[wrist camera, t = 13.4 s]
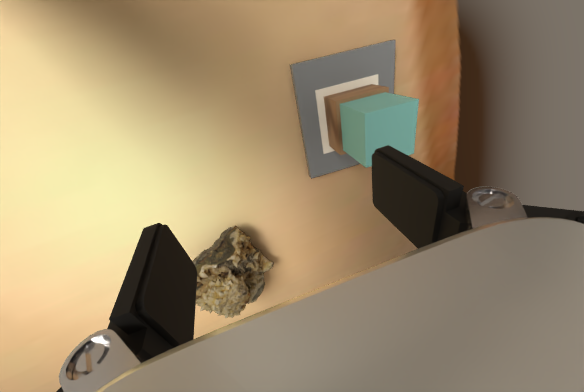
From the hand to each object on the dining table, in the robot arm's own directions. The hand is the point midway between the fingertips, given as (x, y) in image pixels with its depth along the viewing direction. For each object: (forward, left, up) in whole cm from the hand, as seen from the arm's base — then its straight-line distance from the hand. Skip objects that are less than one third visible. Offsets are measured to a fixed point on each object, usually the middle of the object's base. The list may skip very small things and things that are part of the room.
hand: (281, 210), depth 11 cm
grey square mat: (+4, +14, -24) cm, 29 cm away
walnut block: (+4, +14, -23) cm, 28 cm away
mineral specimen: (+24, -9, -25) cm, 36 cm away
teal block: (+4, +14, -19) cm, 24 cm away
